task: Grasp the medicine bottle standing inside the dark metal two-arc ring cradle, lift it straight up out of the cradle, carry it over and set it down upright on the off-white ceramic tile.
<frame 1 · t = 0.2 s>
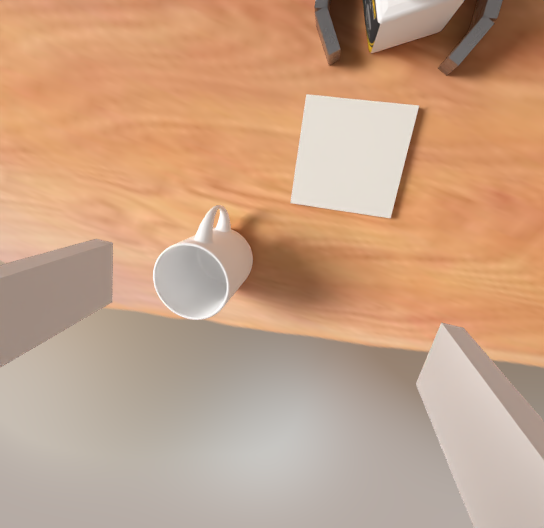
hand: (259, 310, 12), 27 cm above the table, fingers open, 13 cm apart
medicine bottle: (400, 5, 30), on the table
tile: (349, 158, 35), on the table
cradle: (400, 4, 30), on the table
mug: (226, 244, 41), on the table
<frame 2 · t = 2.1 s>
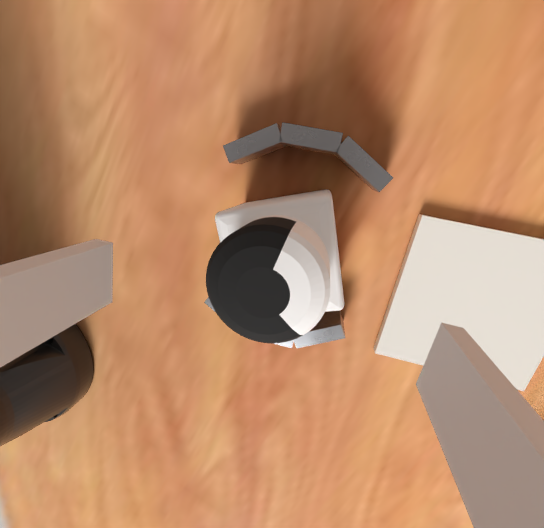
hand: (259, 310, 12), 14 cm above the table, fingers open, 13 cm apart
medicine bottle: (292, 238, 25), on the table
tile: (471, 303, 24), on the table
cradle: (292, 239, 25), on the table
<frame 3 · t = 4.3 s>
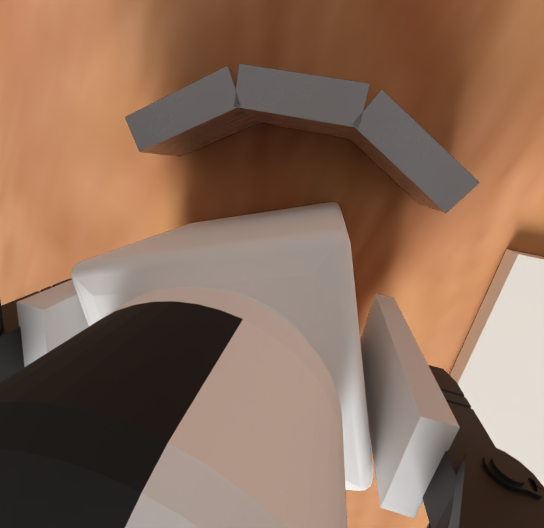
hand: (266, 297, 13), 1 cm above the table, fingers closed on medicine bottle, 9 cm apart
medicine bottle: (272, 284, 15), on the table, touching gripper
cradle: (272, 286, 14), on the table
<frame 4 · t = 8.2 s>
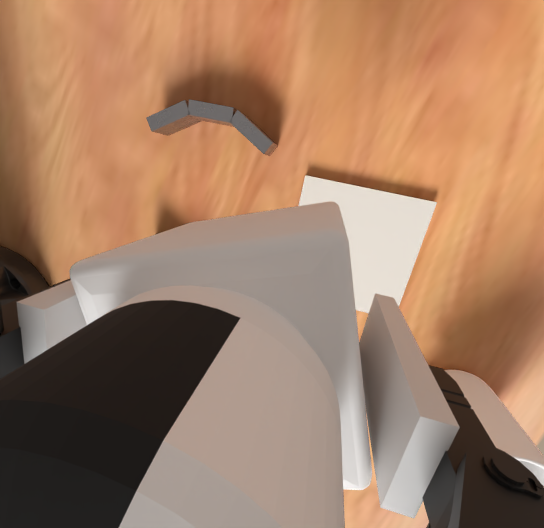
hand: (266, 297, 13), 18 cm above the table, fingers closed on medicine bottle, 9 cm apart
medicine bottle: (272, 284, 15), point 16 cm above the table, touching gripper
tile: (350, 248, 30), on the table
cradle: (211, 197, 31), on the table
mug: (432, 393, 33), on the table
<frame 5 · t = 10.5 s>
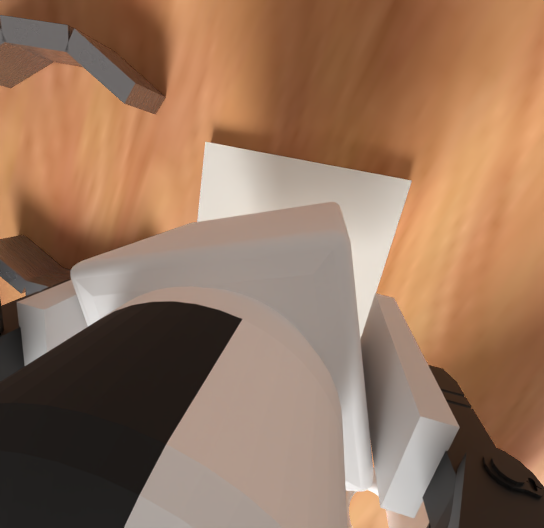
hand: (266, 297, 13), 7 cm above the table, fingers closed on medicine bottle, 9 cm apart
medicine bottle: (272, 284, 14), point 5 cm above the table, touching gripper
tile: (285, 255, 20), on the table
cradle: (82, 180, 21), on the table
mug: (416, 464, 23), on the table
when the fingers open (3 cm above the table, at t = 12.2 s): medicine bottle stays where it is, resting on tile.
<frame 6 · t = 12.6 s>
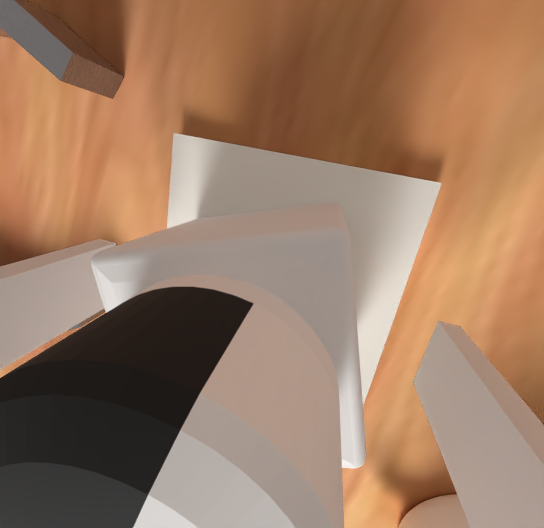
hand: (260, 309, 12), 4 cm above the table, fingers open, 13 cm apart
medicine bottle: (274, 279, 15), point 1 cm above the table, touching tile
tile: (277, 276, 16), on the table
cradle: (28, 182, 17), on the table
mug: (437, 526, 19), on the table
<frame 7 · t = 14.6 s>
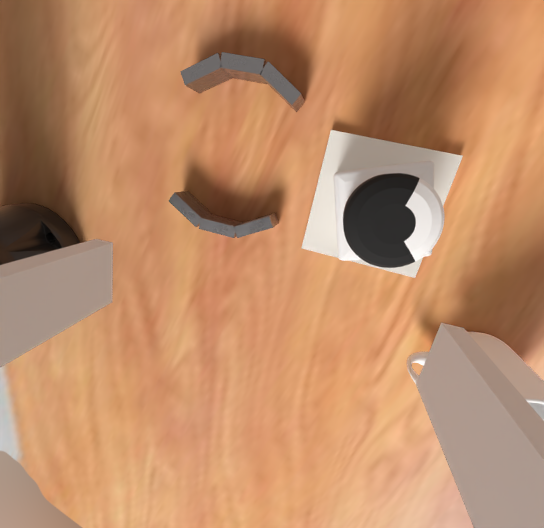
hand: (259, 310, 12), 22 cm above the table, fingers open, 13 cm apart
medicine bottle: (373, 205, 30), point 1 cm above the table, touching tile
tile: (373, 205, 30), on the table
cradle: (238, 154, 32), on the table
mug: (451, 357, 33), on the table
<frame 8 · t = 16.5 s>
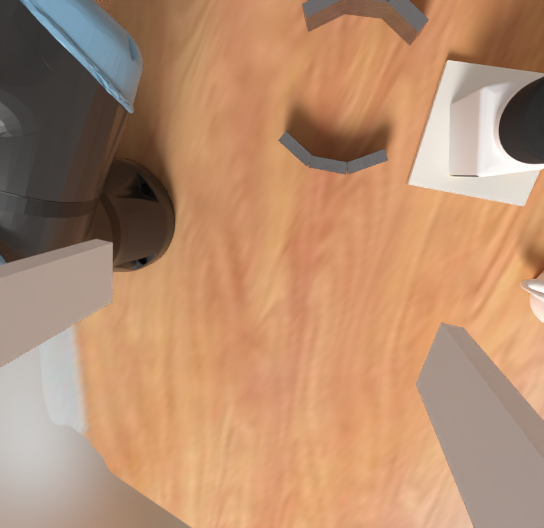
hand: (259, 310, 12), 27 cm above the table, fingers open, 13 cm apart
medicine bottle: (485, 135, 31), point 1 cm above the table, touching tile
tile: (483, 136, 31), on the table
cradle: (345, 93, 32), on the table
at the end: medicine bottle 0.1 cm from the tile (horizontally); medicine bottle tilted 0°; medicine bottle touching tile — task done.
